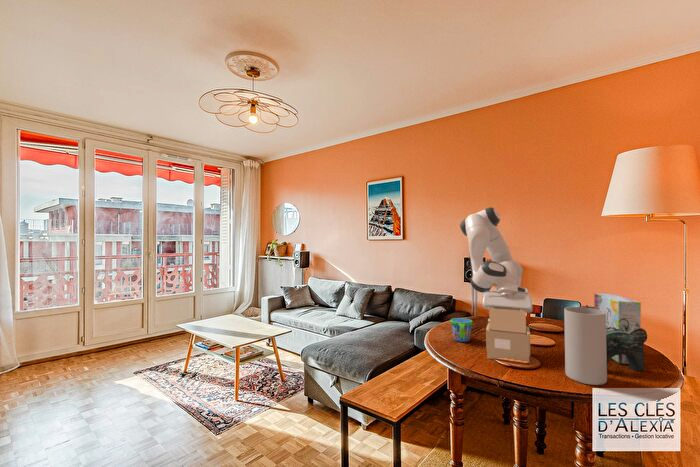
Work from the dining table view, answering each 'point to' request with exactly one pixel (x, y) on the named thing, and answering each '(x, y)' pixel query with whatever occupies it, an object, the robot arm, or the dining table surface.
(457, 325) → the snack cup
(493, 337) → the carton
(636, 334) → the game controller
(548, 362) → the dining table surface
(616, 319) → the snack box
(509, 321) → the flap
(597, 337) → the cylinder vase
